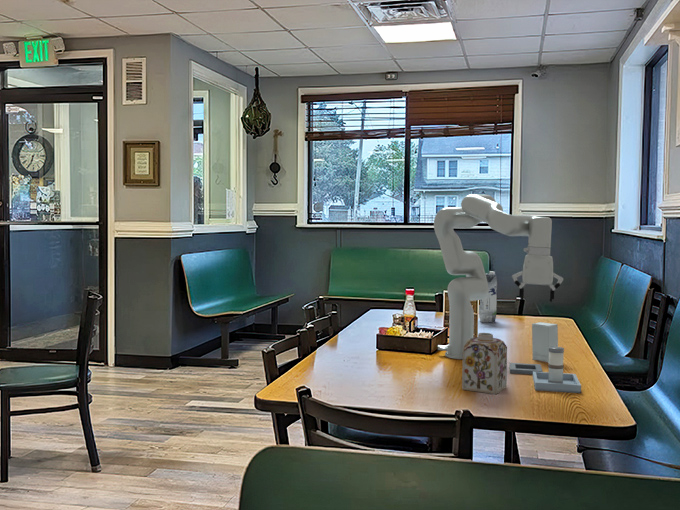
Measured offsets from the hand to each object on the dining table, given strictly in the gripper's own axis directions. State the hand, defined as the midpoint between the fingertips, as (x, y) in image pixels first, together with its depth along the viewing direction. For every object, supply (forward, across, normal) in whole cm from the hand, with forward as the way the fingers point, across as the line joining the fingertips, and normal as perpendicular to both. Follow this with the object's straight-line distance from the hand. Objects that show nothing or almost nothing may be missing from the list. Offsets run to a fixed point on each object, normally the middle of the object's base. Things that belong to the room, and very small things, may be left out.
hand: (536, 300), depth 234 cm
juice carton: (+30, -19, +118) cm, 123 cm away
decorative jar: (+27, -16, -25) cm, 40 cm away
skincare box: (+27, +5, +24) cm, 36 cm away
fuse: (+26, +7, -14) cm, 30 cm away
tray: (+26, +7, -14) cm, 31 cm away
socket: (+27, -2, +4) cm, 27 cm away
